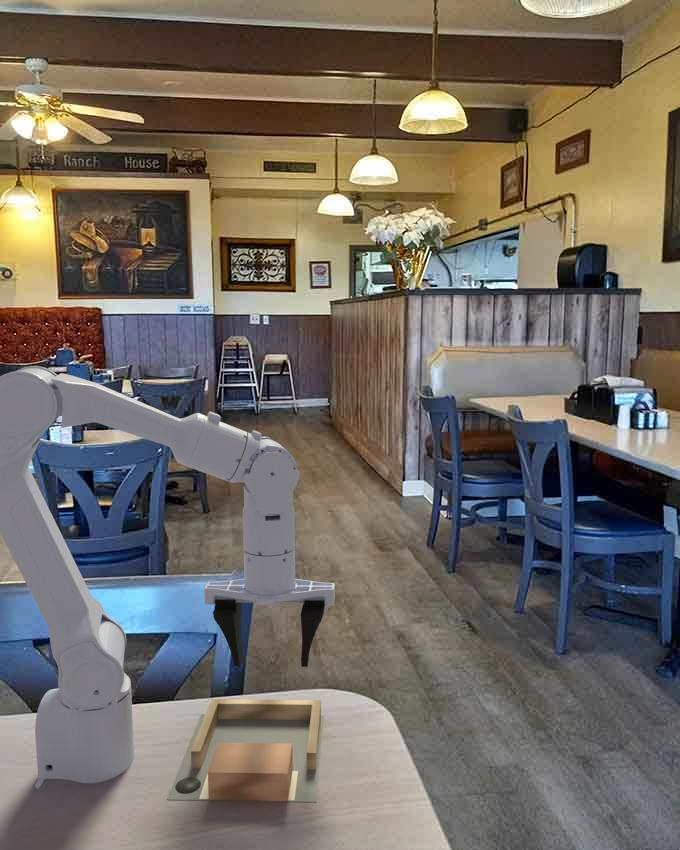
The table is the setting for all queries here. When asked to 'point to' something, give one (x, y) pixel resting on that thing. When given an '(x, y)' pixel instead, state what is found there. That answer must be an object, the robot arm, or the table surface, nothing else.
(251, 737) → the floor board
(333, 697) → the table surface
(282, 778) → the terracotta slab
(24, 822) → the table surface
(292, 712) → the oak cubby
